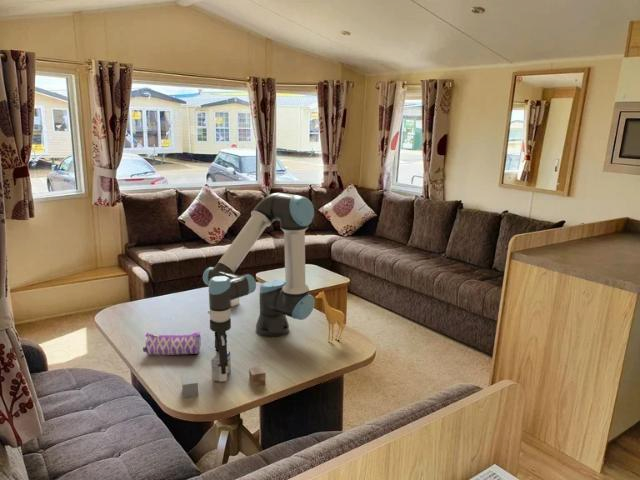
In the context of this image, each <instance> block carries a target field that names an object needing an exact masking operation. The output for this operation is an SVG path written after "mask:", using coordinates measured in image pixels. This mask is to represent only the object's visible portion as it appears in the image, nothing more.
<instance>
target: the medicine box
mask: <svg viewBox="0 0 640 480" xmlns="http://www.w3.org/2000/svg"><path fill="white" fill-rule="evenodd" d="M210 362H211V364H210V365H211V381H215V382H220V381H219V367H218V365H219V364H220V361H219V352H218V353H217V354H216V353H215V356H214V357H213V358H211V361H210ZM227 362H228V366H227V377H228V376H229V374H231V371H232V369H231V368H232V367H231V366H232V365H231V351H228V350H227ZM223 382H224V381H221V382H220V383H223Z"/></svg>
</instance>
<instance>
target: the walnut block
mask: <svg viewBox="0 0 640 480" xmlns="http://www.w3.org/2000/svg"><path fill="white" fill-rule="evenodd" d="M248 373H249V374H248V375H249V377H248V380H249V382H250V385H251V388H255V387H261V386H260V385H262V386H266V381H267V380H266V377H267V376H266V371H265V369H264V366H262V365H261V366H255V367H254V366H253V367H249V372H248ZM254 386H255V387H254Z"/></svg>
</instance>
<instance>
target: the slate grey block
mask: <svg viewBox="0 0 640 480" xmlns="http://www.w3.org/2000/svg"><path fill="white" fill-rule="evenodd" d="M181 383H182V387H181V388H182V396H183V398H190V397H191V398H192V397H196V396H199V382H198V376H197V375H189V376H185V377H184V376H183V377H181Z"/></svg>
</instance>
